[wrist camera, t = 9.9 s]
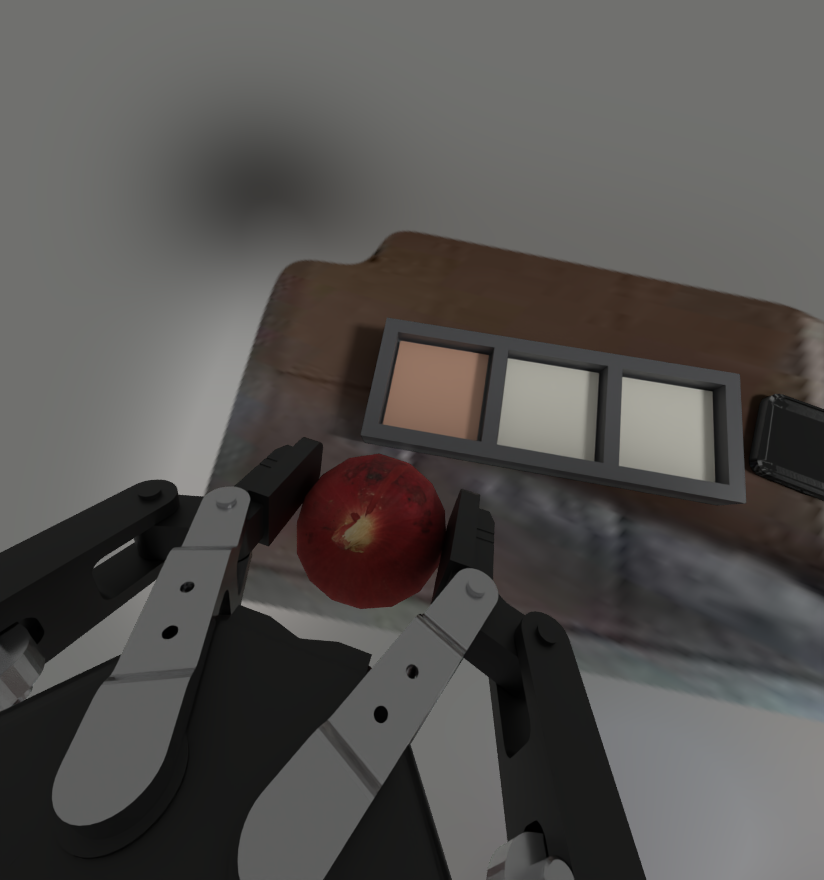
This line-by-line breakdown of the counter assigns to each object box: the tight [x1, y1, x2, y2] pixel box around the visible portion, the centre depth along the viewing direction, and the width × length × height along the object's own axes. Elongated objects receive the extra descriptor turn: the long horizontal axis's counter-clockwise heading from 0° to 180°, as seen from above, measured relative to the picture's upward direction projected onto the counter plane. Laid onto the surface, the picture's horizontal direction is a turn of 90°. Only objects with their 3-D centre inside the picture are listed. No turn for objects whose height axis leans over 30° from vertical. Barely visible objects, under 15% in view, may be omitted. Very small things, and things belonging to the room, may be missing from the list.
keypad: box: [361, 318, 746, 505], centre depth 30 cm, size 30×11×3 cm, turn 80°
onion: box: [297, 454, 446, 609], centre depth 13 cm, size 6×6×8 cm
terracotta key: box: [383, 341, 489, 441], centre depth 30 cm, size 8×8×1 cm
